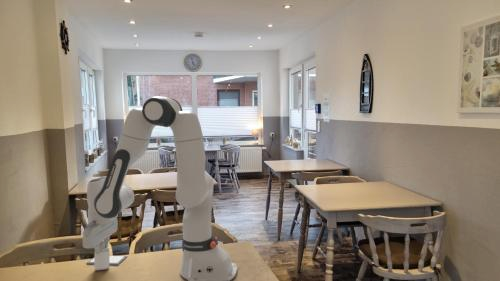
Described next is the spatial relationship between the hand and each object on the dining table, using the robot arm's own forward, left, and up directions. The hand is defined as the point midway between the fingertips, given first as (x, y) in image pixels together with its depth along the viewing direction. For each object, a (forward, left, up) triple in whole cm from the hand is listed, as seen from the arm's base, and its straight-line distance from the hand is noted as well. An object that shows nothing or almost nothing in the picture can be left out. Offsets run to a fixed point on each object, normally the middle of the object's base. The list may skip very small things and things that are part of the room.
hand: (101, 250), depth 139 cm
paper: (+2, -7, -8) cm, 11 cm away
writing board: (+2, -7, -8) cm, 11 cm away
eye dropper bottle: (0, +1, -8) cm, 8 cm away
